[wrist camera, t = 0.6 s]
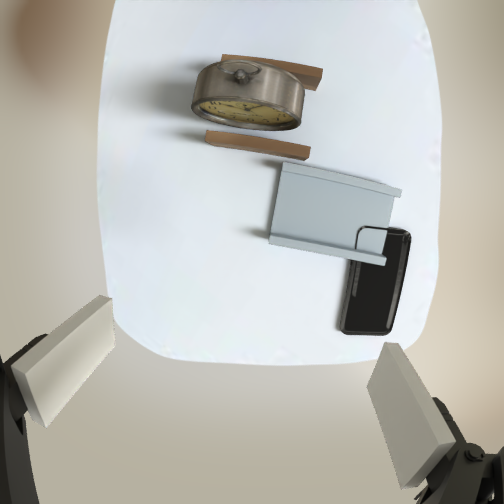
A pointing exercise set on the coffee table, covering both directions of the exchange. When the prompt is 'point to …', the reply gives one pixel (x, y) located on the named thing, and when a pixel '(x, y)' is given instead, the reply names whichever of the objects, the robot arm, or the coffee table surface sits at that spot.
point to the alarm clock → (249, 95)
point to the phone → (376, 287)
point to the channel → (263, 145)
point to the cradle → (331, 213)
